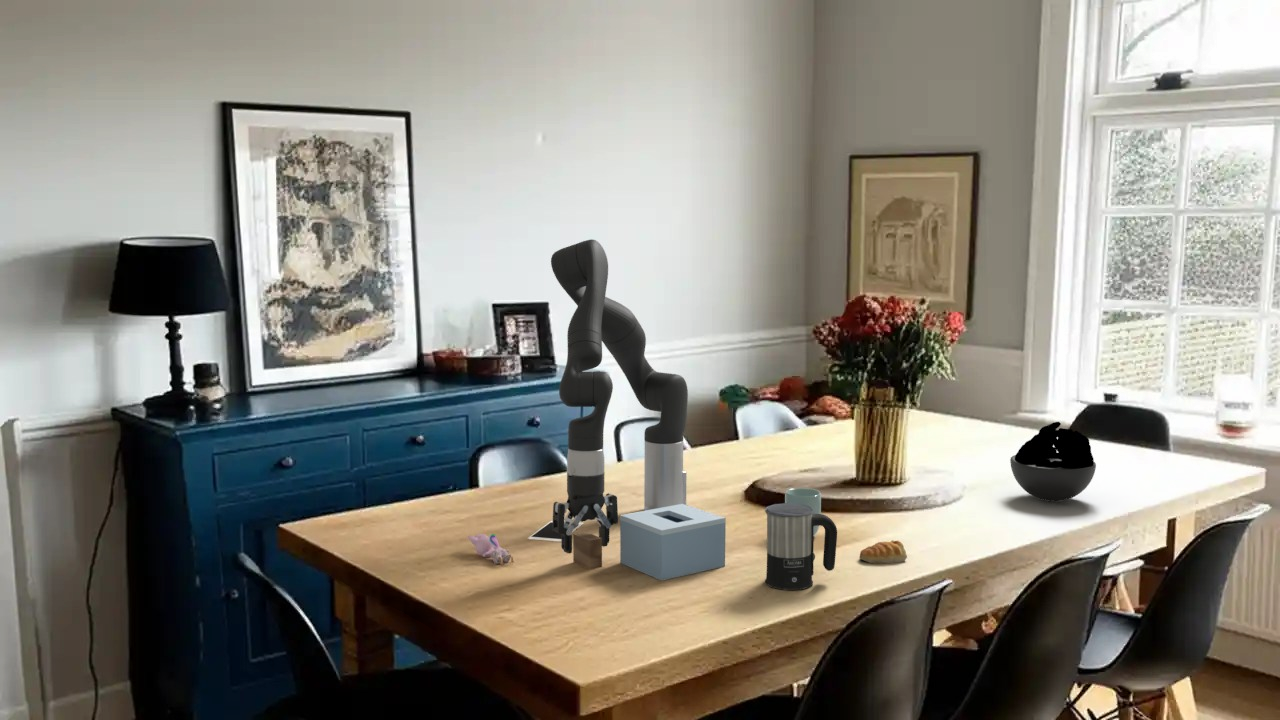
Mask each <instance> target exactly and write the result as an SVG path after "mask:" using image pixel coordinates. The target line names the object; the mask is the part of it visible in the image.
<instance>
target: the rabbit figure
mask: <svg viewBox="0 0 1280 720" xmlns="http://www.w3.org/2000/svg"><path fill="white" fill-rule="evenodd" d="M467 538H468V540H469V541H470V543H471V544H473V545H474V546H475V552H476V553H477V554H478V555H479V556H482V557H483V558H484V557H485V558H492V561H493V563H494V564H495V565H499V566H500V567H502V566H504V565H505V564H506V563H509V562H510V564H511V565H512V564H513V563H515V561H514V556H512V554H509V553H510V549H505V548H502V547H501V546H500V544H499V541H498V539H497V536H496V534H495V533H491V534H490V535H489V536H487V535H486V534H485V533H478V534H475V535H468V536H467ZM510 560H511V561H510Z"/></svg>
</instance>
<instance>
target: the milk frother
mask: <svg viewBox="0 0 1280 720" xmlns="http://www.w3.org/2000/svg"><path fill="white" fill-rule="evenodd" d="M813 511H814V510H813V508H812V507H809V506H807V505H802V504H792V503H785V502H783V503H774V504H771V505H768V506H766V508H765V510H764V512H765V513H766V574H765V575H766V576H765V579H764V582H765V585H766V586H768V587H771V588H773V589H777V590H784V591H789V590H790V591H797V590H798V591H799V590H804V589H809V588H810V587H812V586H813V584H814V581H813V575H814V561H815V558H816V555H815V553H814V544H815V543H814V541H815V540H814V537H815V536H814V530H813V527H814V526H819V527H823V529H824V539H823V540H824V541H823V543H824V544H823V560H822V565H823V567H824V569H825V570H826V571H829V572H830V571H833V570H834V568H835V565H836V554H837V541H838V529H837V525H836V524H835V522H834V521H833V519H832V518H831V517H829V516H828V515H826V514H823V513H821V514H812V512H813Z"/></svg>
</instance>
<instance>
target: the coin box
mask: <svg viewBox="0 0 1280 720" xmlns="http://www.w3.org/2000/svg"><path fill="white" fill-rule="evenodd" d="M726 521H727V520H726V517H724V516H720V515H718V514H715V513H713V512H709V511H706V510H703V509H699V508H697V507H694V506H691V505H689V504H688V505H687V504H686V505H685V504H679V505H673V506H668V507H662V508H657V509H651V510H646V511H644V510H640V511H636V512H631V513H625V514H620V520H619V523H620V527H619V529H620V531H619V532H620V533H619V534H620V536H619V537H620V540H619V542H620V544H619V547H620V551H619V552H620V562H619V563H620V564H622V565H624V566H625V567H626V566H627V567H629V568H632V569H633V570H636V571H638V572H641V573H643V574H646V575H648V576H650V577H652V578H655V579H657V580H659V581H666V580H669V579H674V578H678V577H679V578H680V577H682V576H687V575H691V574H692V575H693V574H696V573H702V572H705V571H706V572H707V571H710V570H714V569H718V568H722V567H723V568H724V567H725V566H726V523H727V522H726Z"/></svg>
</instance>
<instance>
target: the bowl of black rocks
mask: <svg viewBox="0 0 1280 720" xmlns="http://www.w3.org/2000/svg"><path fill="white" fill-rule="evenodd" d="M1061 424H1062V423H1061V422H1060V421H1056V422H1052V423H1049V424H1047V425H1045V426H1042V427H1041V428H1040V429H1039V430H1038V434H1035V435H1033V437H1032V438H1031V439H1029V440H1027V441H1026V442H1025V443H1024V444H1022V445H1021V447H1020V448H1019V449H1018V451H1017V453H1016V454H1015V455H1012V456H1011V457H1010V459H1009V462H1010V468H1011V472H1012V474H1013V477H1014V479H1015V480H1016V482H1017V484H1018V485H1019V486H1020V487H1021V488H1022V489H1023V490H1024V492H1026V493H1027V494H1029V495H1031V496H1032V497H1035V498H1036V499H1039V500H1042V501H1046V502H1063V501H1064V502H1065V501H1066V500H1071V499H1072V498H1074V497H1076V496H1078V495H1080V494H1081V493H1082V492H1083V491H1084V490H1086V489H1087V488H1088V486H1089V485H1090V483H1091V482H1092V480H1093V478H1094V475H1095V472H1096V468H1097V463H1096V462H1095V461H1094V459H1095V458H1094V456H1093V454H1092V447H1091V444H1090V439H1089V438H1088V437H1087V436H1086V435H1084V434H1083V433H1081V432H1079V431H1078V430H1073V429H1070V428H1063V427H1060V426H1061Z"/></svg>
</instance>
